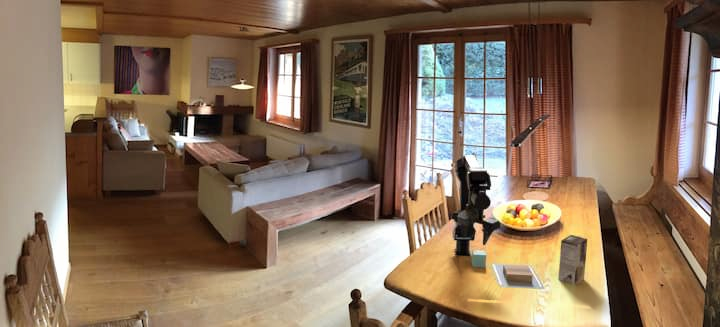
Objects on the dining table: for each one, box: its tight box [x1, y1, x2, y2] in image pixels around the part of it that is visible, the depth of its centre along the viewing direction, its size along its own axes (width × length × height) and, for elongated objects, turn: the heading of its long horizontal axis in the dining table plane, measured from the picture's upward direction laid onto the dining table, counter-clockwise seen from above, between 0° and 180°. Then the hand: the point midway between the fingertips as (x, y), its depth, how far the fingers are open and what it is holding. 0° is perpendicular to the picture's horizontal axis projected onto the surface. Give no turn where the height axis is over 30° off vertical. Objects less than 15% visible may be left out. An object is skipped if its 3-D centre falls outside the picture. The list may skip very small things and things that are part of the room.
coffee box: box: [557, 234, 588, 286], centre depth 183 cm, size 9×6×16 cm
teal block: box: [470, 249, 487, 268], centre depth 197 cm, size 5×5×6 cm
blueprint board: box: [490, 263, 546, 290], centre depth 187 cm, size 22×16×1 cm
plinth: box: [503, 264, 533, 283], centre depth 185 cm, size 9×9×3 cm
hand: (474, 241), depth 188 cm, fingers open, 9 cm apart
